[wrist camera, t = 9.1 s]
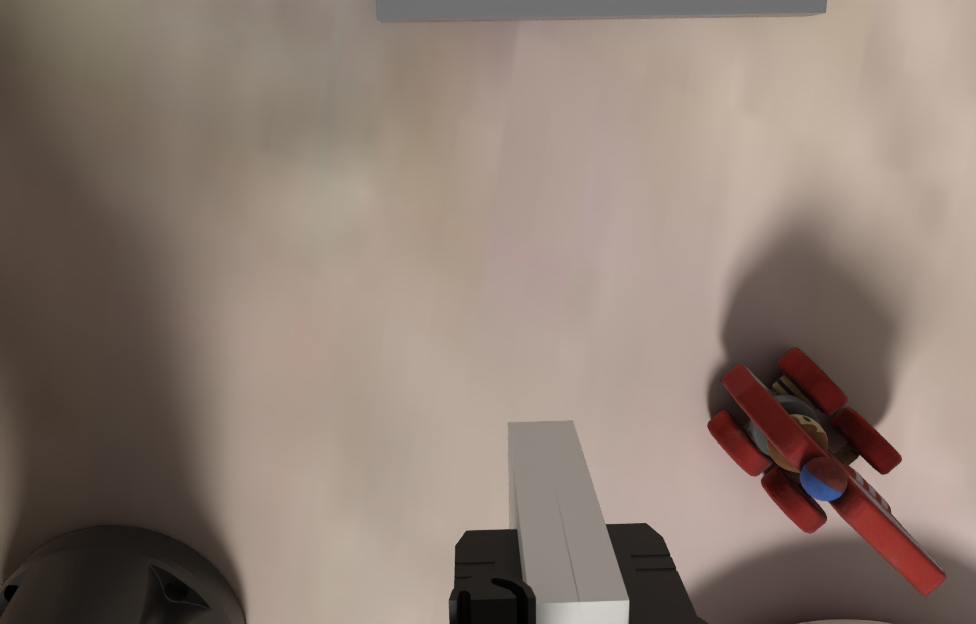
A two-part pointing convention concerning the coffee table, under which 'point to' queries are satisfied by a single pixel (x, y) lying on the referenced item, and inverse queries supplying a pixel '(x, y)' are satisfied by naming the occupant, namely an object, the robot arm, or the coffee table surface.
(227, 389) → the coffee table surface
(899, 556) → the toy fire truck
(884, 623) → the bowl
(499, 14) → the frame
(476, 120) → the coffee table surface
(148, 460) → the coffee table surface
